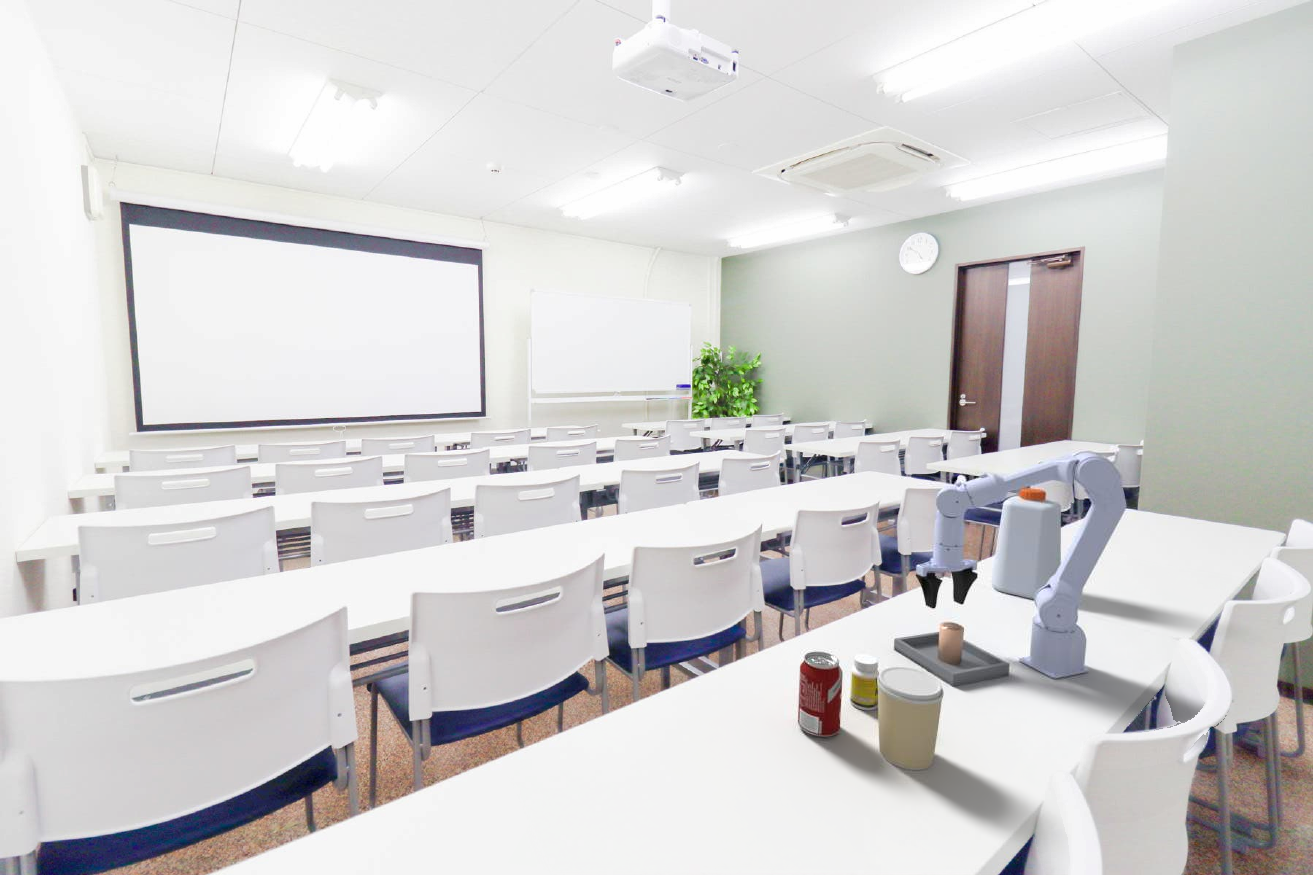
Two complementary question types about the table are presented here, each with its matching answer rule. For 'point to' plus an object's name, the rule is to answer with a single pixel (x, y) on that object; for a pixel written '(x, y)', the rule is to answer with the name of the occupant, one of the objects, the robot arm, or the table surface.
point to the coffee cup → (908, 716)
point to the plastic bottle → (1027, 543)
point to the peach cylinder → (950, 643)
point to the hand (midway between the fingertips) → (944, 604)
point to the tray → (969, 670)
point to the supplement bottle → (864, 682)
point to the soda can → (820, 694)
